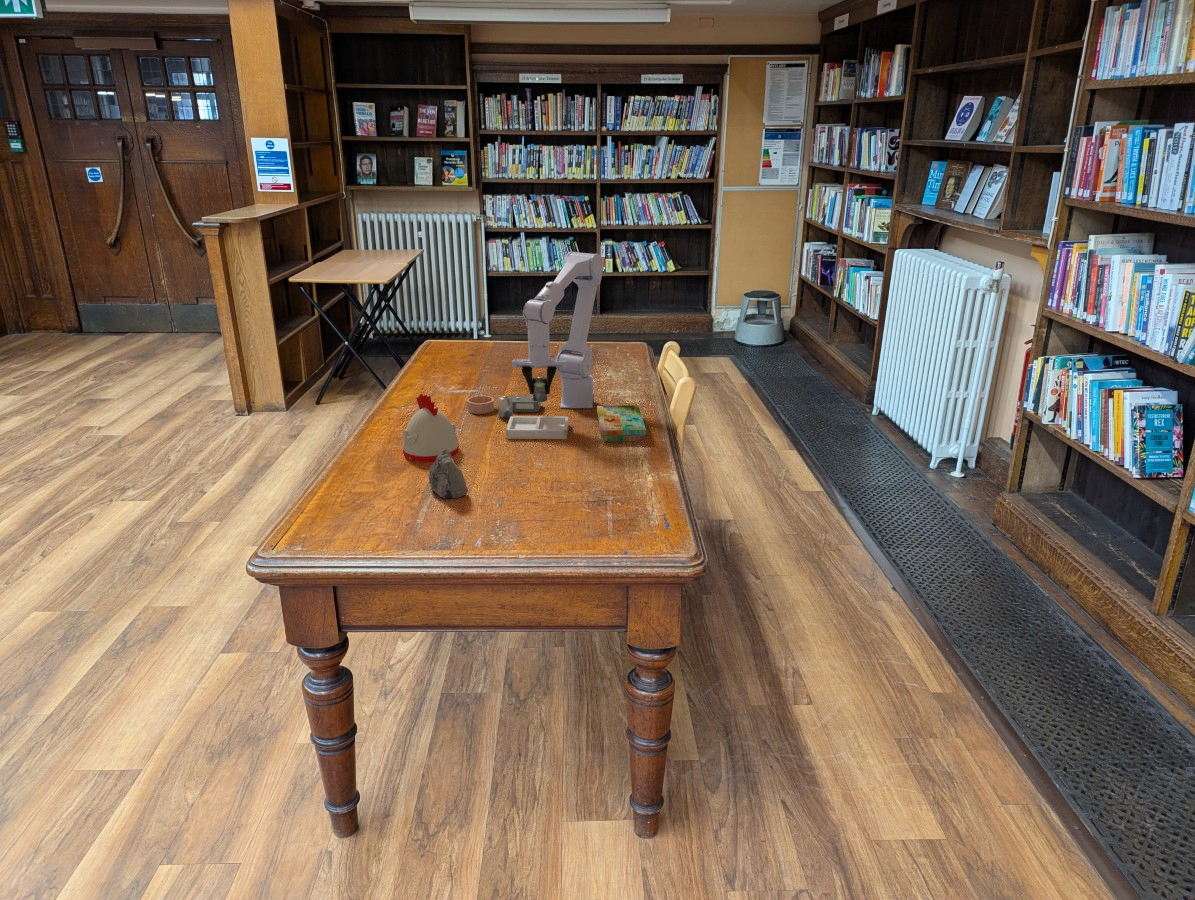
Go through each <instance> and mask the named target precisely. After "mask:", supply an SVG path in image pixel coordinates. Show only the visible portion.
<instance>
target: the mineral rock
mask: <svg viewBox="0 0 1195 900" xmlns="http://www.w3.org/2000/svg"><path fill="white" fill-rule="evenodd" d="M453 458H454V457H452V456H451V455H450V453H449V452H448V451H447V450H446V449H445V450H443V451H441V452H440V453H439V455H438V456H437V458H436V461H435V462H433V463H432V464H431V465H430V467H429V471H428V472H429V473H428V481H429V484H430V488H431V490H432V491H433V492H435V494H437V495H438V496H439V497H440V498H443V499H444V500H445V499H451V498H453V499H459V498H461V497H463V496H464V495H467V493H468V492H469V488H468V486H467V483H466V479H465V477H464V475H463V471H462V469H461V468H460V467H459V466H458V465H457V464H456V463H455V461H454V459H453Z"/></svg>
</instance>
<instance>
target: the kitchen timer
mask: <svg viewBox="0 0 1195 900" xmlns="http://www.w3.org/2000/svg"><path fill="white" fill-rule="evenodd" d="M418 396H419V397H416V398H415V399H416V402H417V405H418V408H419V410H417V411H416V412H415V413H414V414H413V416H412V417H411V418H410V420H409V421H408V424H407V426H406V428H405V429H403V430H402V440H403V441H402V454H404V455H403V457H404V456H405V457H406V458H405V457H404V458H405V459H406V460H409V461H411V460H412V462H416V461H417V463H434V462H435V461H436V458H437V456H438V455H439V453H440V452H441V451H443V450H445V449H446V450H447V451H448V452H449V453H450V455H451V456H452V458H454V457H455V456H456V455H458V454H459V451H460V446H459V445H460V443H459V439H458V436H457V434H456V426H455V425H456V424H455V423H451V421H450V419H448V418H449V417H447V416H446V415H445V414H444V413H443V412H442V411H440V410H439V407H435V401H432V399H431V397H432V396H431V395H429V396H428V395H427V394H423V393H420V394H418Z"/></svg>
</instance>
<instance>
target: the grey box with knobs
mask: <svg viewBox="0 0 1195 900" xmlns="http://www.w3.org/2000/svg"><path fill="white" fill-rule="evenodd" d="M511 397H512V408H513V413H539V412H540V409H541V402H535V401H533V395H512V396H511Z"/></svg>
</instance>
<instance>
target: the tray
mask: <svg viewBox="0 0 1195 900" xmlns="http://www.w3.org/2000/svg"><path fill="white" fill-rule="evenodd" d="M507 422H508V423H507V425H506V429H505V439H508V440H510V439H511V440H514V439H515V440H518V439H519V440H521V439H522V440H530V439H531V440H535V439H536V440H537V439H538V440H567V439H568V432H569V416H560V415H559V416H556V415H555V416H549V415H548V416H547V415H546V416H544V415H543V416H534V415H533V416H532V415H530V416H528V415H524V416H523V415H522V416H521V415H519V416H518V415H513V416H510V419H509V420H508V421H507Z"/></svg>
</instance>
